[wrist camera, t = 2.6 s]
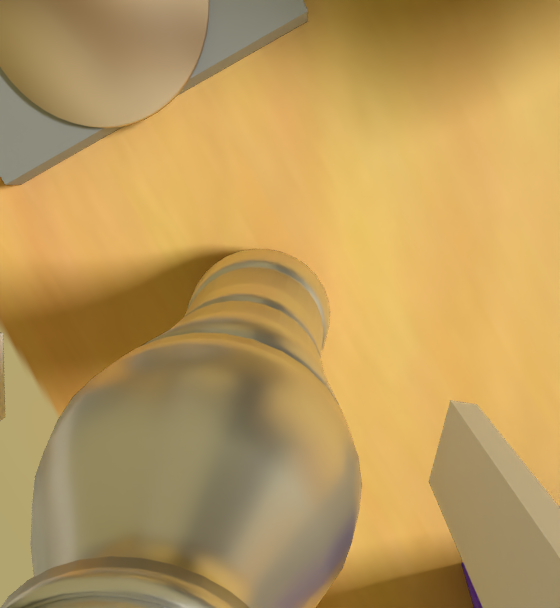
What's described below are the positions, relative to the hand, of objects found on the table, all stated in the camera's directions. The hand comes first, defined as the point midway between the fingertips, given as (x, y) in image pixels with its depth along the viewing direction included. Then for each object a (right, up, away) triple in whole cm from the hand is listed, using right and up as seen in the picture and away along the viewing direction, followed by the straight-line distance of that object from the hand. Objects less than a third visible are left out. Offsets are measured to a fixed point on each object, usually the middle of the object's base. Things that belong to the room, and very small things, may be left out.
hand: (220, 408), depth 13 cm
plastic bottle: (+1, +3, +11) cm, 11 cm away
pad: (-6, +16, +6) cm, 18 cm away
